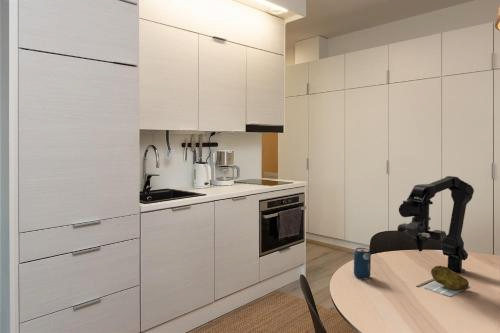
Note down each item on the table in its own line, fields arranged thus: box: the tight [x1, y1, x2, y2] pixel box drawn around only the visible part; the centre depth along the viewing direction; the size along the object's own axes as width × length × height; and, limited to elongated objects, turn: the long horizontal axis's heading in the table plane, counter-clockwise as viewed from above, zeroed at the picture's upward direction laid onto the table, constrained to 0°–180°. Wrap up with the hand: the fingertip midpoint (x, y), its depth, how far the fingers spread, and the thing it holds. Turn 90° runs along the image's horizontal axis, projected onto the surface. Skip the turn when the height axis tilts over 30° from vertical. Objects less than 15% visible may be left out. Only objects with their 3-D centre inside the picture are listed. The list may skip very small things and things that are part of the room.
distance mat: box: [423, 281, 470, 298], centre depth 147 cm, size 16×10×1 cm, turn 126°
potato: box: [430, 265, 470, 291], centre depth 146 cm, size 8×13×8 cm, turn 44°
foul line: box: [415, 277, 435, 288], centre depth 153 cm, size 18×1×1 cm, turn 126°
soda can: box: [353, 247, 372, 280], centre depth 158 cm, size 7×7×12 cm
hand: (420, 251), depth 156 cm, fingers closed
